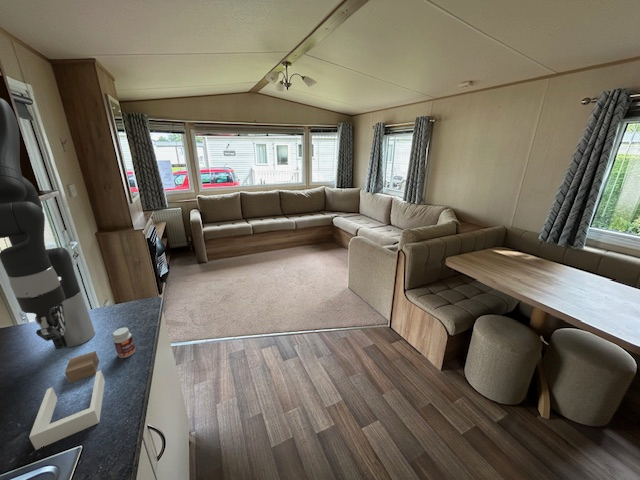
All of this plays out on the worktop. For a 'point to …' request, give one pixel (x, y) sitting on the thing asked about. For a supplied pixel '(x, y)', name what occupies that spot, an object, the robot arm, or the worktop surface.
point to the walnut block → (82, 367)
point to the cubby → (67, 426)
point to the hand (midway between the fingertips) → (62, 346)
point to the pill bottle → (123, 342)
